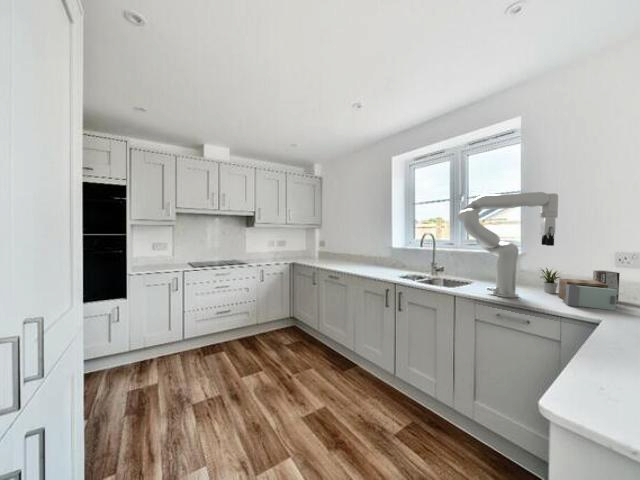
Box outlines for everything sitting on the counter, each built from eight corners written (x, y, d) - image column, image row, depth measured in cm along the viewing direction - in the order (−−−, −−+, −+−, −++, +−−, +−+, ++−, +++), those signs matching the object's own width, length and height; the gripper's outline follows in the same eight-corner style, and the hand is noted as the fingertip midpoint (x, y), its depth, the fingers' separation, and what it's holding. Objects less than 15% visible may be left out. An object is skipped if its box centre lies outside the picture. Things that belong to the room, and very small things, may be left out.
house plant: (527, 290, 173) (528, 265, 173) (542, 288, 178) (543, 264, 177) (552, 295, 160) (553, 268, 159) (567, 293, 164) (568, 267, 163)
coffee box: (619, 302, 144) (620, 272, 144) (604, 301, 146) (606, 272, 145) (604, 298, 153) (606, 270, 153) (591, 297, 154) (592, 270, 154)
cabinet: (569, 306, 136) (570, 284, 136) (555, 296, 156) (555, 278, 156) (617, 311, 128) (618, 288, 128) (596, 300, 148) (596, 280, 148)
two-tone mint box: (567, 305, 137) (569, 285, 136) (565, 303, 140) (566, 284, 140) (616, 311, 129) (618, 290, 128) (612, 308, 132) (613, 288, 132)
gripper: (536, 216, 162) (535, 244, 163) (544, 214, 147) (543, 245, 148) (552, 216, 159) (551, 244, 160) (562, 214, 144) (561, 246, 144)
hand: (547, 245), depth 154 cm, fingers open, 9 cm apart
